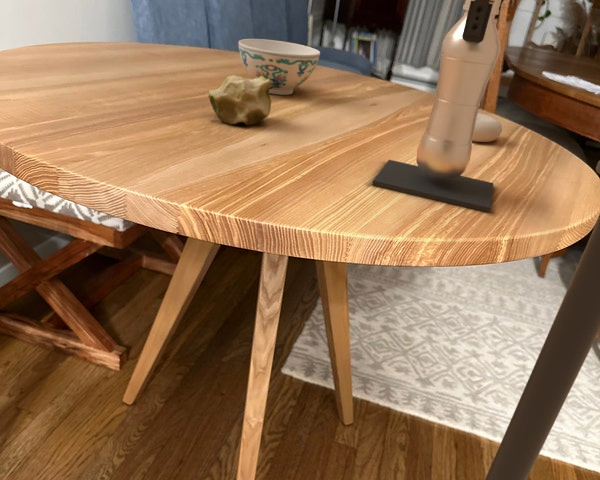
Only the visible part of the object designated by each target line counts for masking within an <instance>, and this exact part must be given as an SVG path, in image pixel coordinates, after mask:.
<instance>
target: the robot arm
mask: <svg viewBox="0 0 600 480" xmlns="http://www.w3.org/2000/svg"><path fill="white" fill-rule="evenodd" d="M489 2H491V3H494V2H495V0H475V1H472V0H471V2H470V6H469V10H468V14H467V18H466V22H465V26H464V30H463V34H462V38H463V40H465V41H470V42H476V43H480V42H482V41H483V39H484V36H485V32H486V28H487V25H488V21H489V17H490V14H491V10H492V6H493V4H491V3H489Z"/></svg>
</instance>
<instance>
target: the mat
mask: <svg viewBox="0 0 600 480" xmlns="http://www.w3.org/2000/svg"><path fill="white" fill-rule="evenodd" d="M371 185H372V186H373V187H379V188H384V189H388V190H391V191H396V192H401V193H404V194H408V195H413V196H416V197H417V196H418V197H421V198H426V199H430V200H434V201H439V202H443V203H446V204H451V205H455V206H459V207H463V208H468V209H472V210H476V211H481V212H484V213H490V210H491V207H492V199H493V193H494V185H495V184H494V182H490V181H486V180H480V179H478V178H477V179H476V178H473V177H468V176H465V175H460V176H459V177H457V178H441V177H436V176H433V175H429V174H427V173H425V172H423V171H421V170H420V169H419V167H418V165H415V164H410V163H407V162H402V161H398V160H394V159H388V160H387V162H386V163H385V164H384V165H383V167H382V168H381V169H380V171H378V173H377V175H376V176H375V177H374V179H372V183H371Z"/></svg>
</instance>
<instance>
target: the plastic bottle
mask: <svg viewBox="0 0 600 480" xmlns="http://www.w3.org/2000/svg"><path fill="white" fill-rule="evenodd" d="M472 1H475V0H472ZM470 2H471V0H465V2H464V4H463V6H462V10H464V13H463V15H462V17H461V18H460V19H459V20H457V22H456V23H455V24H454V25H453V26H452V27H451V29H449V31H448V32H447V33H446V35H445V37H444V39H443V40H442V45H441V49H440V50H441V53H440V59H439V70H438V78H437V79H438V80H437V83H436V89H435V95H434V99H433V104H432V106H431V110H430V113H429V116H428V120H427V123H426V126H425V130H424V132H423V133H422V136H421V137H420V140H419V143H418V145H417V148H416V159H415V160H416V161H415V162H416V164H417V166H418V167H419V169H420V170H421V171H423V172H425V173H427V174H429V175H433V176H436V177H441V178H457V177H459V176H462V174H464V173H465V171H466V169H467V167H468V165H469V163H470V161H471V156H472V151H473V150H472V149H473V141H472V138H473V133H474V128H475V123H476V118H477V113H479V109H480V107H481V101H482V100H483V98H484V95H485V91H486V88H487V86H488V84H489V81H490V78H491V76H492V74H493V72H494V69H495V67H496V64H497V61H498V59H499V56H500V54H501V40H500V35H499V31H498V29H497V26H496V23H495V17H496V16H498V15H499V13H500V10H499V9H500V6H501V2H502V0H495V2H494V3H491V2H489V3H491V4H493V6H492V10H491V14H490V17H489V21H488V25H487V28H486V32H485V36H484V39H483V41H482V42H480V43H476V42H470V41H465V40H463V38H462V34H463V30H464V26H465V22H466V18H467V14H468V10H469V6H470Z"/></svg>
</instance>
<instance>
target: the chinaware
mask: <svg viewBox="0 0 600 480" xmlns="http://www.w3.org/2000/svg"><path fill="white" fill-rule="evenodd" d="M237 43H238V44H237V45H238V50H239V51H238V52H239V56H240V60H241V63H242V66H243V67H244V69H245V71H246V73H247V75H249V77H250V79H255V78H260V76H263V77H264V78H266V79H270V87H272V86H274V85H276V84H277V83H278V82H279V85H277V86H276V87H274V88H272V89H269V94H273V95H280V96H281V95H283V96H284V95H285V96H287V95H293V93H294V89H295V88H297V87H299V86H300V85H302V84H303V83H304V82H305V81H306V80H308V79H309V77H310V76H311V75H312V73H313V72H314V71H315V69H316V67H317V64H318V62H319V59H320V56H321V51H320V50H319V49H316V48H314V47H310V46H308V45H303V44H299V43H295V42H289V41H283V40H282V41H281V40H276V39H275V40H274V39H266V38H265V39H263V38H245V39H244V38H243V39H240V40H238V42H237ZM270 87H269V88H270Z"/></svg>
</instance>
